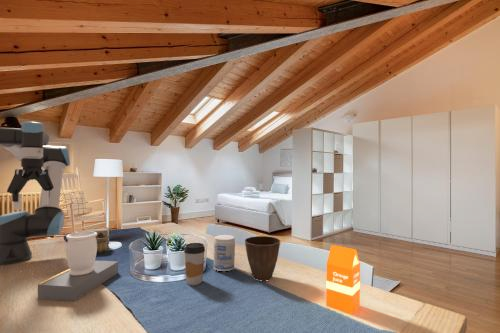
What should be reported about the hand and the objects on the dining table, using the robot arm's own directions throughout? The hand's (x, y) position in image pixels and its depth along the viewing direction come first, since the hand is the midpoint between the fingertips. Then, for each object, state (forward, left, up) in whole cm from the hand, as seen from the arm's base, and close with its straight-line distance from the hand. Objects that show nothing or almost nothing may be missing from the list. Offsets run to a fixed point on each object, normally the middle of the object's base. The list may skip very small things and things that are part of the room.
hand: (32, 207), depth 121 cm
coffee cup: (-1, +72, -29) cm, 78 cm away
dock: (+7, +29, -29) cm, 41 cm away
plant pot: (-9, +99, -29) cm, 104 cm away
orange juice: (+11, +128, -29) cm, 132 cm away
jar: (+7, +29, -24) cm, 38 cm away
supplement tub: (-17, +81, -29) cm, 88 cm away
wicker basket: (-34, +5, -29) cm, 45 cm away
